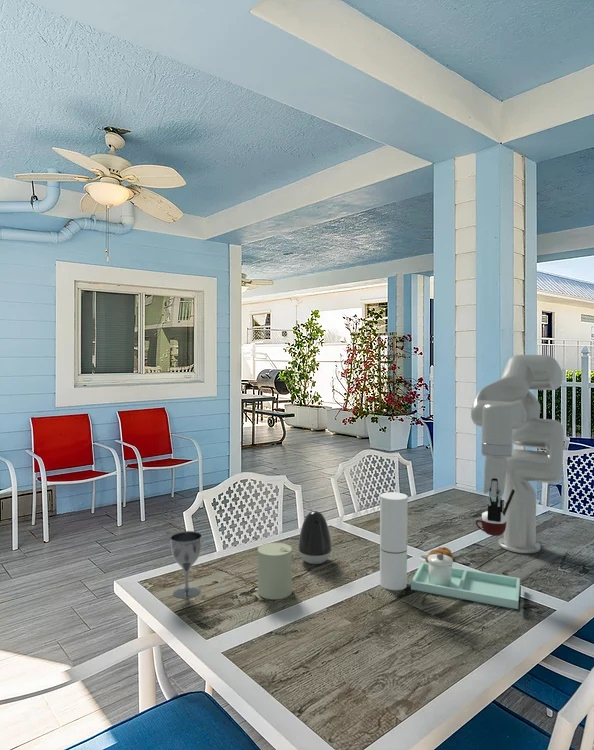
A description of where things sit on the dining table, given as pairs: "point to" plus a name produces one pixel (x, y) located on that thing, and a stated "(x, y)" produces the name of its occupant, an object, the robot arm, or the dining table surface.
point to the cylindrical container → (393, 540)
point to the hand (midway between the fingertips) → (495, 516)
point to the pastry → (440, 550)
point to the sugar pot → (440, 569)
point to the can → (274, 570)
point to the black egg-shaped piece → (315, 539)
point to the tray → (472, 586)
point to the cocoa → (493, 526)
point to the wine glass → (186, 558)
